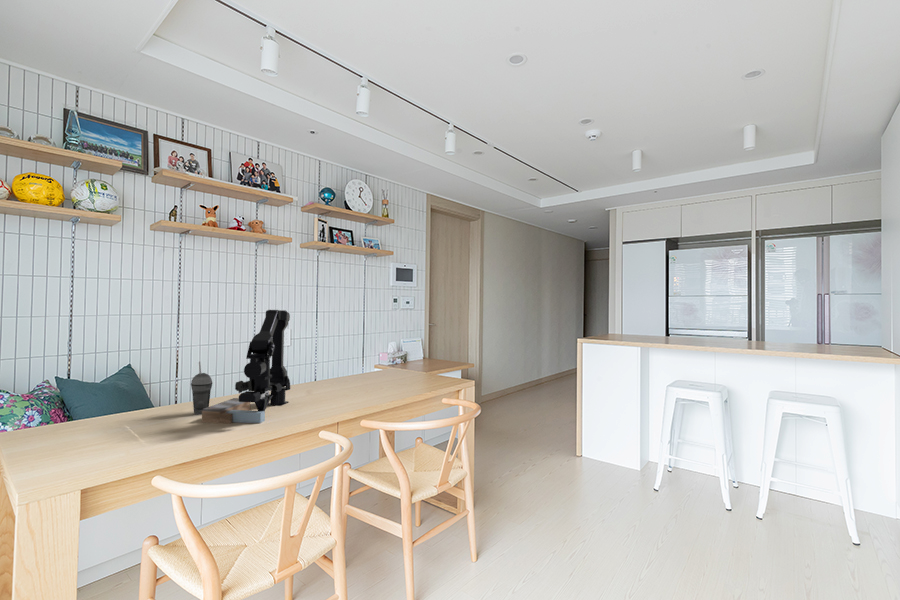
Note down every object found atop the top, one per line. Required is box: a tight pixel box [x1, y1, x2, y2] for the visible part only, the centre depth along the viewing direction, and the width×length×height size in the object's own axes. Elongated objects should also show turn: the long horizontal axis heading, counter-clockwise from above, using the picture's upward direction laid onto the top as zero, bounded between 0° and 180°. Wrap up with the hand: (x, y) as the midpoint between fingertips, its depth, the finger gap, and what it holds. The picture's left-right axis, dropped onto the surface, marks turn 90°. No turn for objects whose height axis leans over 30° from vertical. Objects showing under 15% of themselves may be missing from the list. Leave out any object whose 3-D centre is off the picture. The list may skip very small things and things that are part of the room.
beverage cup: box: [190, 361, 213, 416], centre depth 163 cm, size 7×7×20 cm
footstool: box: [201, 397, 251, 424], centre depth 160 cm, size 18×11×5 cm, turn 173°
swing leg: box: [226, 410, 266, 424], centre depth 153 cm, size 14×3×4 cm, turn 86°
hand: (261, 415), depth 155 cm, fingers closed
